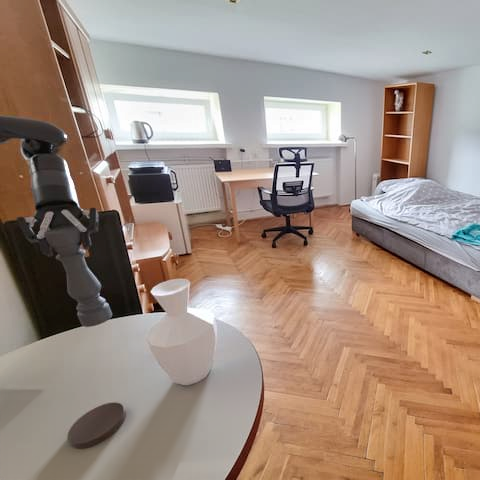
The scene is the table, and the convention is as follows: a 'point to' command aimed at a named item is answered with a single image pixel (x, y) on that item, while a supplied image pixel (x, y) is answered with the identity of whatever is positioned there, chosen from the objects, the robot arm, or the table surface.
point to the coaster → (96, 425)
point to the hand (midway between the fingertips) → (67, 251)
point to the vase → (182, 334)
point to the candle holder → (79, 276)
